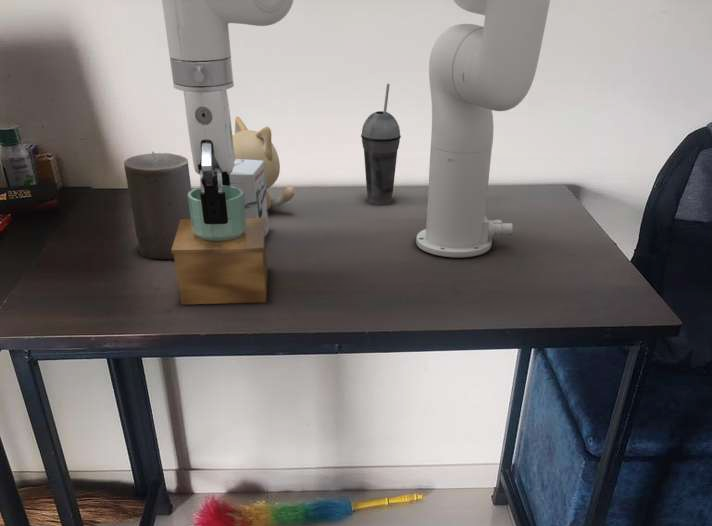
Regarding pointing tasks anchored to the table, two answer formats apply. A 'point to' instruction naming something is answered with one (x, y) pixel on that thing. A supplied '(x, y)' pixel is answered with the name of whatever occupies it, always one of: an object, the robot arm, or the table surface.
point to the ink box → (251, 187)
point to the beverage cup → (380, 154)
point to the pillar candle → (158, 200)
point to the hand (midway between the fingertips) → (218, 211)
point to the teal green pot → (219, 231)
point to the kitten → (260, 157)
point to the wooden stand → (221, 266)
